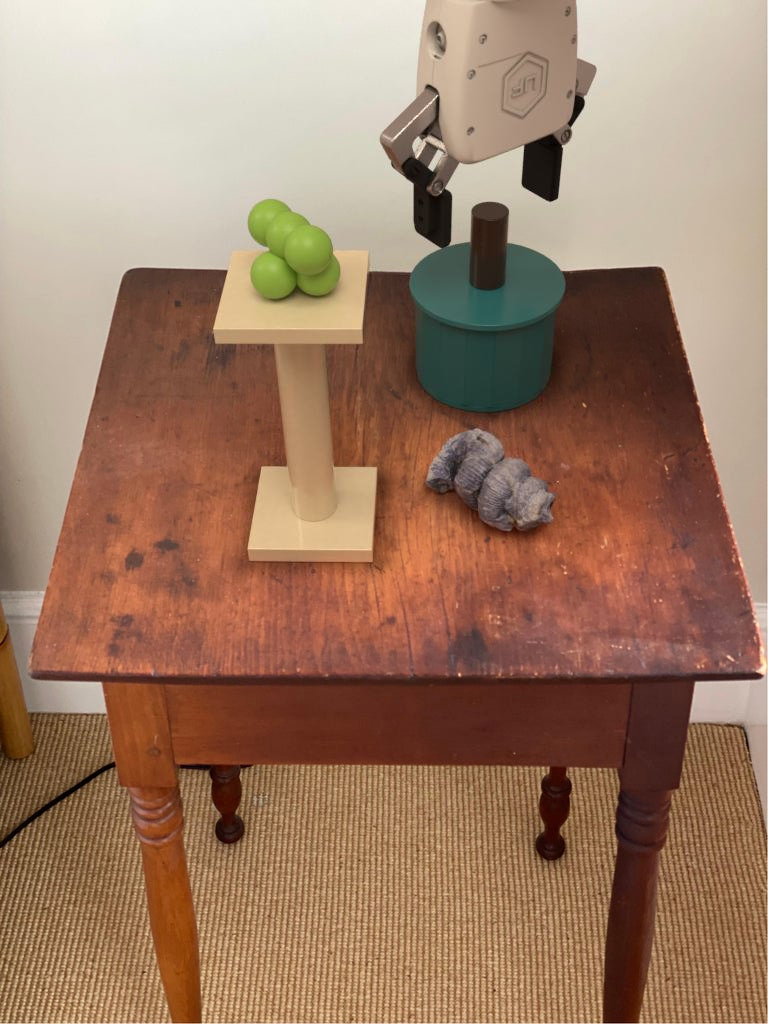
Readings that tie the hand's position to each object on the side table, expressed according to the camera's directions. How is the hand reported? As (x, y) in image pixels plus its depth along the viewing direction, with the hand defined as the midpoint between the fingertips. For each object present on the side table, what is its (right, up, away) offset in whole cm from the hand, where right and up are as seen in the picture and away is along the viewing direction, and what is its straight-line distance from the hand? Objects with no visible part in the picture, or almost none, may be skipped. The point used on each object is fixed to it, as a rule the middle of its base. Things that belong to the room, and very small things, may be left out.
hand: (487, 215), depth 78 cm
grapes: (-12, -8, -15) cm, 21 cm away
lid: (0, -4, +4) cm, 6 cm away
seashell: (0, -20, -2) cm, 20 cm away
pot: (0, -10, +9) cm, 13 cm away
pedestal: (-12, -21, -2) cm, 24 cm away
